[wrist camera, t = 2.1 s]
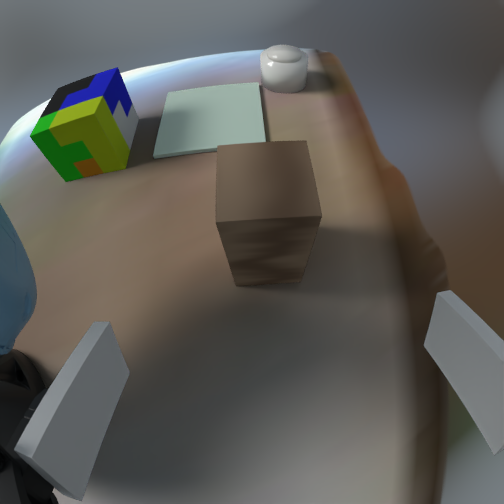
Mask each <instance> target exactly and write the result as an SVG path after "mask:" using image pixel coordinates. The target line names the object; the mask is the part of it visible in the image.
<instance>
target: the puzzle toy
mask: <svg viewBox="0 0 504 504" xmlns="http://www.w3.org/2000/svg"><path fill="white" fill-rule="evenodd" d="M138 121H139V118H138V116H137V113H136V111H135V109H134V106H133V104H132V101H131V99H130V97H129V94H128V92H127V89H126V87H125V84H124V82H123V79H122V77H121V74H120V72H119V69H118V68H114V69H111V70H107V71H104V72H101V73H98V74H95V75H92V76H89V77H86V78H83V79H81V80H78V81H76V82H73V83H70V84H68V85H65V86H63V87H60V88H58V89H57V91H56V92H55V94H54V95H53V97H52V98H51V100H50V102H49V103H48V105H47V107H46V108H45V110H44V112H43V113H42V115H41V117H40V119H39V120H38V122H37V124H36V126H35V128H34V129H33V131H32V133H31V135H30V137H31V139H32V140H33V141H34V143H35V144H36V145H37V147H38V148H39V149H40V150H41V152H42V153H43V154H44V156H45V157H46V158H47V159H48V161H49V162H50V163H51V164H52V166H53V167H54V168H55V169H56V171H57V172H58V173H59V174H60V175H61V177H62V178H63V179H64V180H65V181H66V182H68V181H72V180H76V179H80V178H84V177H89V176H93V175H98V174H103V173H108V172H113V171H118V170H123V169H126V165H127V161H128V157H129V153H130V149H131V146H132V142H133V138H134V135H135V131H136V128H137V124H138Z"/></svg>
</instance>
